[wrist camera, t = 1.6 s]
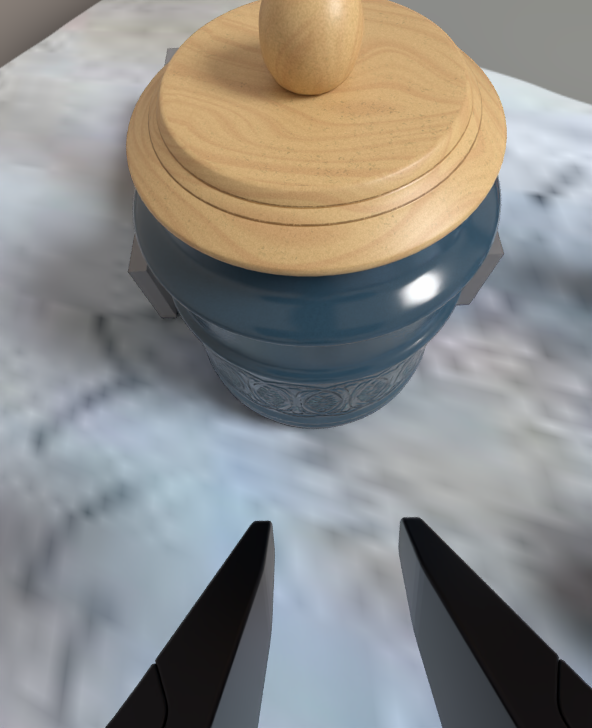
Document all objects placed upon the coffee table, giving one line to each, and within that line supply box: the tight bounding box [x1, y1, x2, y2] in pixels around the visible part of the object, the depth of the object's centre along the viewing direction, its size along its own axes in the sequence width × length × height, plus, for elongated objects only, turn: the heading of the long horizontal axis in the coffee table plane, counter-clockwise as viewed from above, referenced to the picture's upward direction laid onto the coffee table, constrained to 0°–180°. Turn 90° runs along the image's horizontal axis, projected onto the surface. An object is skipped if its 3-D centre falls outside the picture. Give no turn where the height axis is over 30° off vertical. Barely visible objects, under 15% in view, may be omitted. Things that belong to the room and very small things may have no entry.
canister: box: [126, 0, 507, 429], centre depth 17 cm, size 13×13×18 cm
